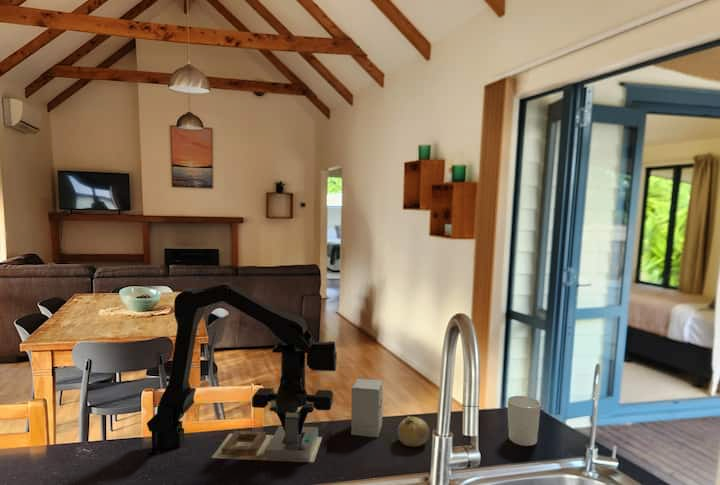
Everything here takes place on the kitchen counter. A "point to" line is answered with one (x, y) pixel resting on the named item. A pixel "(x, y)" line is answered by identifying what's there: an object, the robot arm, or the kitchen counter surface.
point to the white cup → (523, 420)
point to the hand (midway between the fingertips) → (293, 433)
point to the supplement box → (366, 408)
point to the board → (261, 453)
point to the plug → (292, 428)
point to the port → (292, 446)
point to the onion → (413, 431)
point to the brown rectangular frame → (251, 450)
